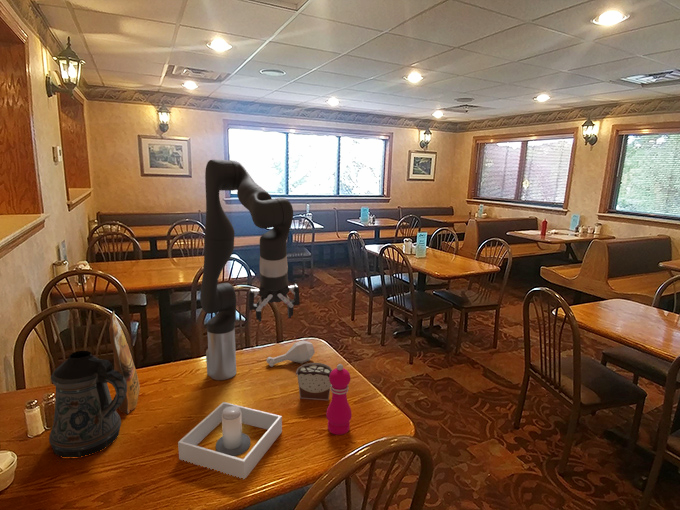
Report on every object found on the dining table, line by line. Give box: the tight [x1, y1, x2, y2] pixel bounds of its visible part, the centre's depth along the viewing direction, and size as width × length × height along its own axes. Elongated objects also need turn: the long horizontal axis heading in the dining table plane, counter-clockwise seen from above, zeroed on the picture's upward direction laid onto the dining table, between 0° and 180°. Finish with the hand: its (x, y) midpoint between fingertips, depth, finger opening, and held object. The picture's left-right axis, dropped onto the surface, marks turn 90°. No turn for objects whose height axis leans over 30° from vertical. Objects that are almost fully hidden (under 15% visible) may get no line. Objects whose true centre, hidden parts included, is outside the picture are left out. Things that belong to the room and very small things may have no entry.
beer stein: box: [48, 350, 127, 457], centre depth 109 cm, size 16×19×25 cm
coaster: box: [215, 432, 251, 457], centre depth 110 cm, size 9×9×1 cm
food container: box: [295, 362, 333, 401], centre depth 134 cm, size 12×6×10 cm, turn 84°
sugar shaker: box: [221, 406, 243, 449], centre depth 109 cm, size 5×5×10 cm
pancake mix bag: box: [108, 310, 141, 414], centre depth 126 cm, size 7×19×28 cm, turn 20°
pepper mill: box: [325, 363, 352, 436], centre depth 116 cm, size 7×7×20 cm
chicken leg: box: [265, 339, 316, 368], centre depth 155 cm, size 8×18×8 cm, turn 110°
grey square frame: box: [177, 401, 283, 480], centre depth 109 cm, size 19×19×5 cm
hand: (274, 318), depth 119 cm, fingers open, 8 cm apart
